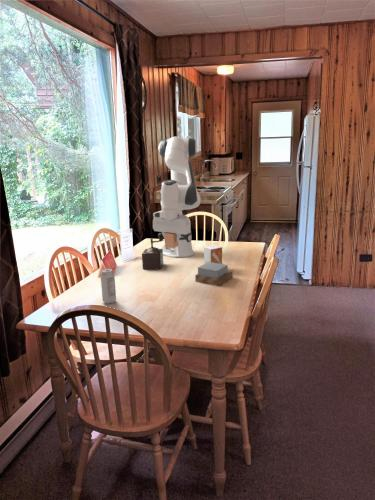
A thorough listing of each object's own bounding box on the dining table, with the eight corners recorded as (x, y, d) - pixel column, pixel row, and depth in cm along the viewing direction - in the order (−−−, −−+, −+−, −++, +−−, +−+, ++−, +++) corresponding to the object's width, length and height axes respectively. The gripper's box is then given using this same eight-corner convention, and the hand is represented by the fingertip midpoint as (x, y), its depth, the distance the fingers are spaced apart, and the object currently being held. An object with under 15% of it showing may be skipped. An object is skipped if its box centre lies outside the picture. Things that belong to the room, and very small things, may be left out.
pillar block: (165, 246, 202) (164, 233, 200) (170, 244, 206) (170, 231, 204) (173, 248, 199) (172, 234, 197) (178, 245, 203) (178, 232, 201)
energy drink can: (110, 298, 187) (107, 267, 183) (119, 301, 183) (116, 269, 179) (100, 302, 182) (97, 270, 178) (108, 305, 178) (106, 273, 174)
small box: (210, 272, 219) (210, 249, 215) (203, 269, 224) (203, 247, 220) (222, 269, 223) (222, 247, 219) (215, 267, 228) (215, 244, 224)
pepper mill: (161, 269, 226) (160, 238, 221) (142, 269, 227) (140, 238, 222) (166, 261, 241) (165, 232, 236) (148, 261, 242) (146, 231, 237)
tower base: (195, 282, 206) (195, 275, 205) (208, 274, 217) (208, 267, 216) (219, 287, 199) (219, 279, 197) (232, 278, 210) (232, 271, 209)
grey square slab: (198, 275, 205) (197, 267, 204) (209, 269, 214) (209, 261, 213) (216, 278, 199) (216, 270, 198) (227, 272, 208) (227, 264, 207)
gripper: (192, 214, 195) (192, 242, 199) (157, 211, 206) (159, 237, 209) (185, 216, 190) (186, 245, 194) (150, 213, 201) (151, 240, 204)
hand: (171, 241), depth 202 cm, fingers closed on pillar block, 5 cm apart
